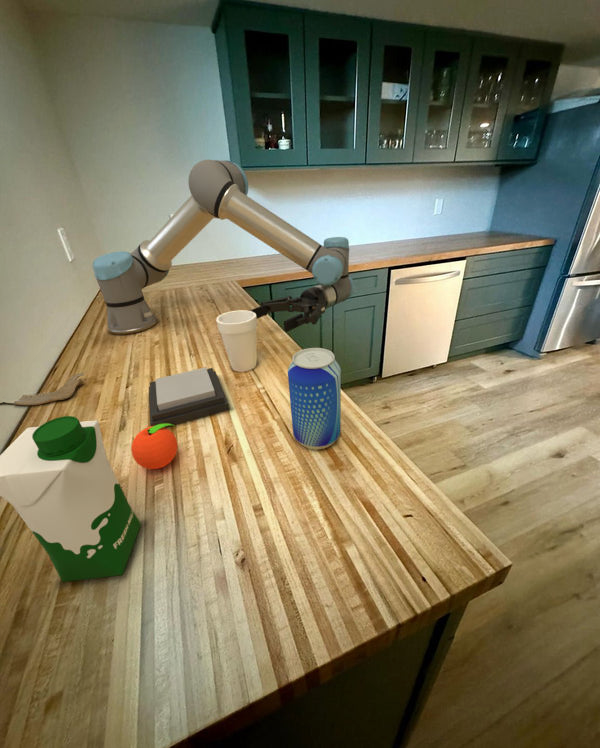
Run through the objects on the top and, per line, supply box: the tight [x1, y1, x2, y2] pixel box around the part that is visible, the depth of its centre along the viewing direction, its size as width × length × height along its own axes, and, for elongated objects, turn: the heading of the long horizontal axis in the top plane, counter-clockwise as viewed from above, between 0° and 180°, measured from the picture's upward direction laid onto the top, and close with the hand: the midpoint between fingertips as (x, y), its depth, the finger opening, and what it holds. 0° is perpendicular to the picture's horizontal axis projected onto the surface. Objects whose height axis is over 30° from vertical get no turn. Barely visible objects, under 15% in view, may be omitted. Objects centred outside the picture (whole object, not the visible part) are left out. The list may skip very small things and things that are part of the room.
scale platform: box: [154, 367, 216, 411], centre depth 71 cm, size 11×11×2 cm
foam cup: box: [215, 309, 258, 372], centre depth 82 cm, size 10×9×13 cm
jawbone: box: [13, 372, 85, 406], centre depth 76 cm, size 9×20×2 cm, turn 118°
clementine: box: [130, 423, 178, 470], centre depth 55 cm, size 8×7×7 cm
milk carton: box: [0, 415, 142, 583], centre depth 38 cm, size 9×9×20 cm
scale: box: [148, 367, 230, 428], centre depth 72 cm, size 15×15×3 cm
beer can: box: [287, 347, 342, 451], centre depth 56 cm, size 8×8×16 cm
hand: (265, 321), depth 87 cm, fingers open, 13 cm apart
